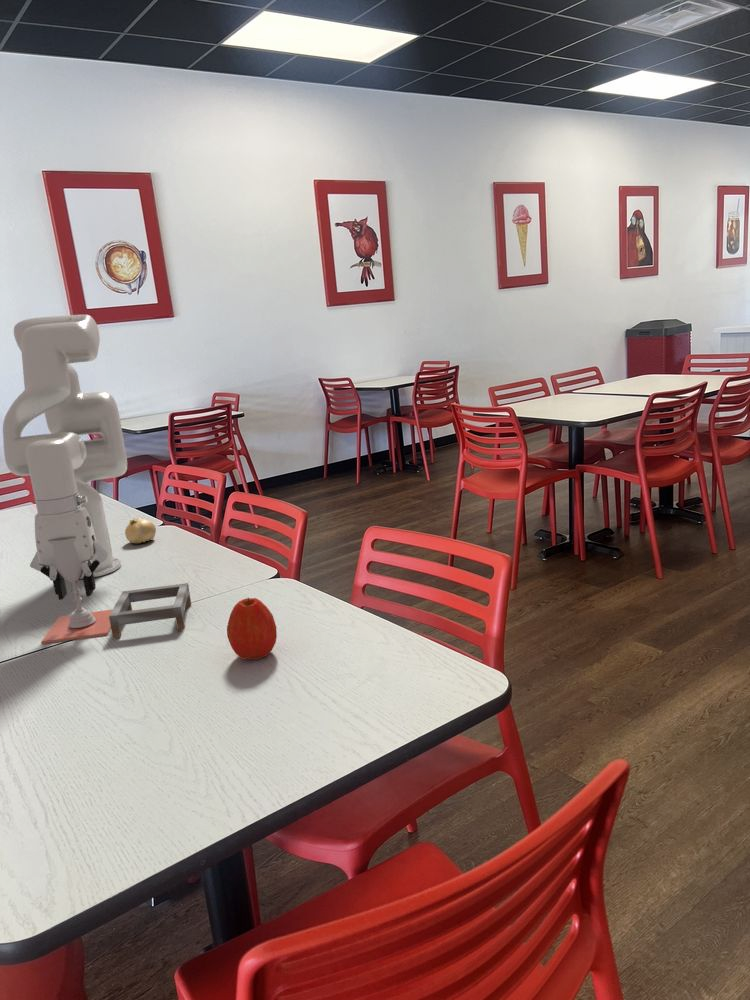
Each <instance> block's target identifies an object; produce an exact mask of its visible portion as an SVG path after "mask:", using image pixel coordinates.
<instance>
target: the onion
mask: <svg viewBox="0 0 750 1000" xmlns="http://www.w3.org/2000/svg"><path fill="white" fill-rule="evenodd" d="M156 533H157V529H156V525H155V524H154V522H152V521H150V520H148V519H145V518H135V517H134V518H132V519H130V520H129V523H128V524H127V526H126V527H125V531H124V535H125V538H126V540H127V541H128V542H129V543H132V544H141V543H142V542H143V543H146V541H148V542H150V541H149V540H151V539H153V540H154V538H155V536H156Z"/></svg>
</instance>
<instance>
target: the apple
mask: <svg viewBox="0 0 750 1000" xmlns="http://www.w3.org/2000/svg"><path fill="white" fill-rule="evenodd" d="M230 612H231V613H230V615H229V618H228V621H227V625H226V634H227V635H226V636H227V639H228V642H229V645H230V647H231V649H232V650H233V652H234V653H235V654H236V655H237V656H238V657H239V658H241V659H244V660H256V659H261V658H264V657H267V656H268V655H269V654H270V653H271V652H272V650H273V649H274V647H275V645H276V643H277V637H278V635H277V624H276V622H275V618H274V616H273V613H272V612H271V611H270V609H269V608H268V607H267V605H265V603H264V602H263V601H261V600H260V599H259V598H257V597H254V598H250V597H247V598H243V599H241V600H239V601H238V602H236V604H235V605H234V606H233V608H232V610H231V611H230Z"/></svg>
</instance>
